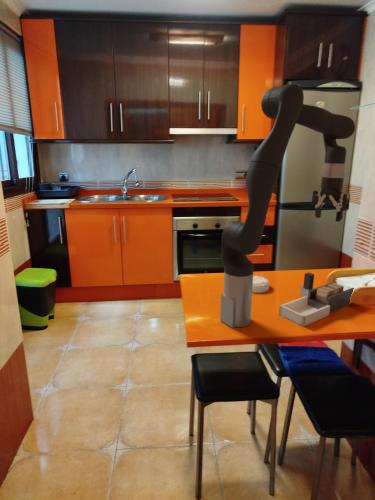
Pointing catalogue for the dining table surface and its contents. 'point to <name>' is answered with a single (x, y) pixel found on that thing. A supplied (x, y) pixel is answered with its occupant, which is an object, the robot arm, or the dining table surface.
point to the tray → (302, 312)
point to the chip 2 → (336, 288)
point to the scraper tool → (307, 284)
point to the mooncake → (260, 284)
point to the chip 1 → (324, 293)
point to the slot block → (330, 299)
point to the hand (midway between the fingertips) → (327, 219)
